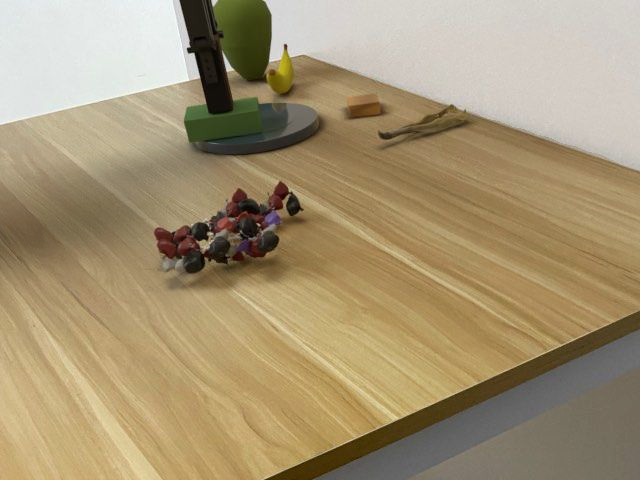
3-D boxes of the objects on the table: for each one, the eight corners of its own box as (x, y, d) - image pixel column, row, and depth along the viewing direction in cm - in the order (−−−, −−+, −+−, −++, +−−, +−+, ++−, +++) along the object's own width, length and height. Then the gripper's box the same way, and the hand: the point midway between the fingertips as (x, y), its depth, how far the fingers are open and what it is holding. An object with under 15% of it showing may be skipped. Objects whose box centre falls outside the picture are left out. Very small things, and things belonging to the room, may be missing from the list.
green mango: (213, 86, 121) (193, -5, 113) (246, 70, 126) (228, -18, 118) (260, 89, 118) (242, -5, 110) (292, 72, 123) (277, -18, 115)
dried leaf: (384, 133, 92) (385, 151, 94) (472, 105, 97) (472, 122, 99) (364, 124, 95) (366, 141, 96) (451, 96, 100) (452, 113, 101)
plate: (190, 161, 97) (187, 150, 96) (199, 121, 109) (196, 111, 108) (321, 144, 98) (320, 133, 97) (316, 105, 109) (315, 95, 108)
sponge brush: (189, 143, 98) (164, 50, 92) (192, 127, 103) (168, 38, 96) (262, 132, 99) (243, 39, 92) (261, 117, 103) (243, 27, 96)
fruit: (285, 81, 119) (278, 43, 116) (298, 80, 119) (292, 42, 116) (269, 103, 112) (261, 62, 109) (283, 102, 112) (276, 61, 108)
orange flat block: (350, 118, 104) (348, 105, 103) (348, 109, 107) (346, 96, 106) (380, 114, 104) (379, 101, 103) (377, 105, 107) (376, 92, 106)
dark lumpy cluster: (316, 266, 71) (305, 211, 69) (156, 295, 71) (138, 241, 68) (305, 221, 83) (296, 173, 81) (168, 246, 83) (154, 198, 80)
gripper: (194, -142, 77) (249, 122, 93) (204, -152, 89) (252, 84, 105) (116, -132, 77) (185, 131, 93) (136, -143, 88) (194, 92, 105)
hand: (220, 106), depth 99 cm, fingers closed on sponge brush, 3 cm apart
